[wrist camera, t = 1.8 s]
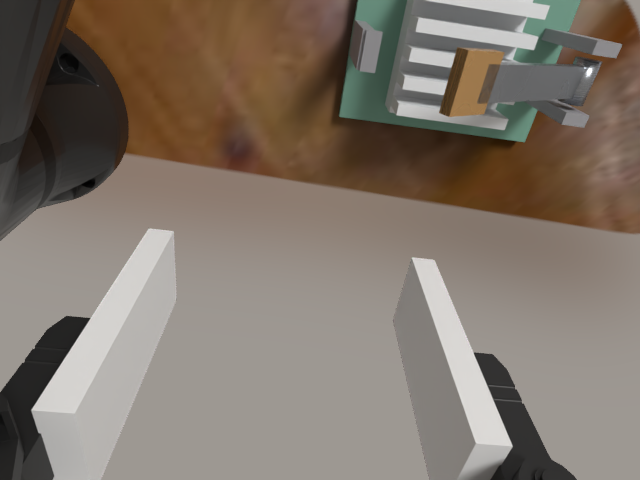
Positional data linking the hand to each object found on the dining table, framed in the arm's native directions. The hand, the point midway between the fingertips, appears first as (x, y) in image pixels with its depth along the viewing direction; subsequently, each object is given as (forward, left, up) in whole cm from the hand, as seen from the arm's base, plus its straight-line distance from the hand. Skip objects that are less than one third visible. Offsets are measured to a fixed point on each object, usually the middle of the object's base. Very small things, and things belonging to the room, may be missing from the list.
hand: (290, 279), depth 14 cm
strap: (+12, +5, -16) cm, 21 cm away
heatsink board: (+11, +5, -25) cm, 28 cm away
